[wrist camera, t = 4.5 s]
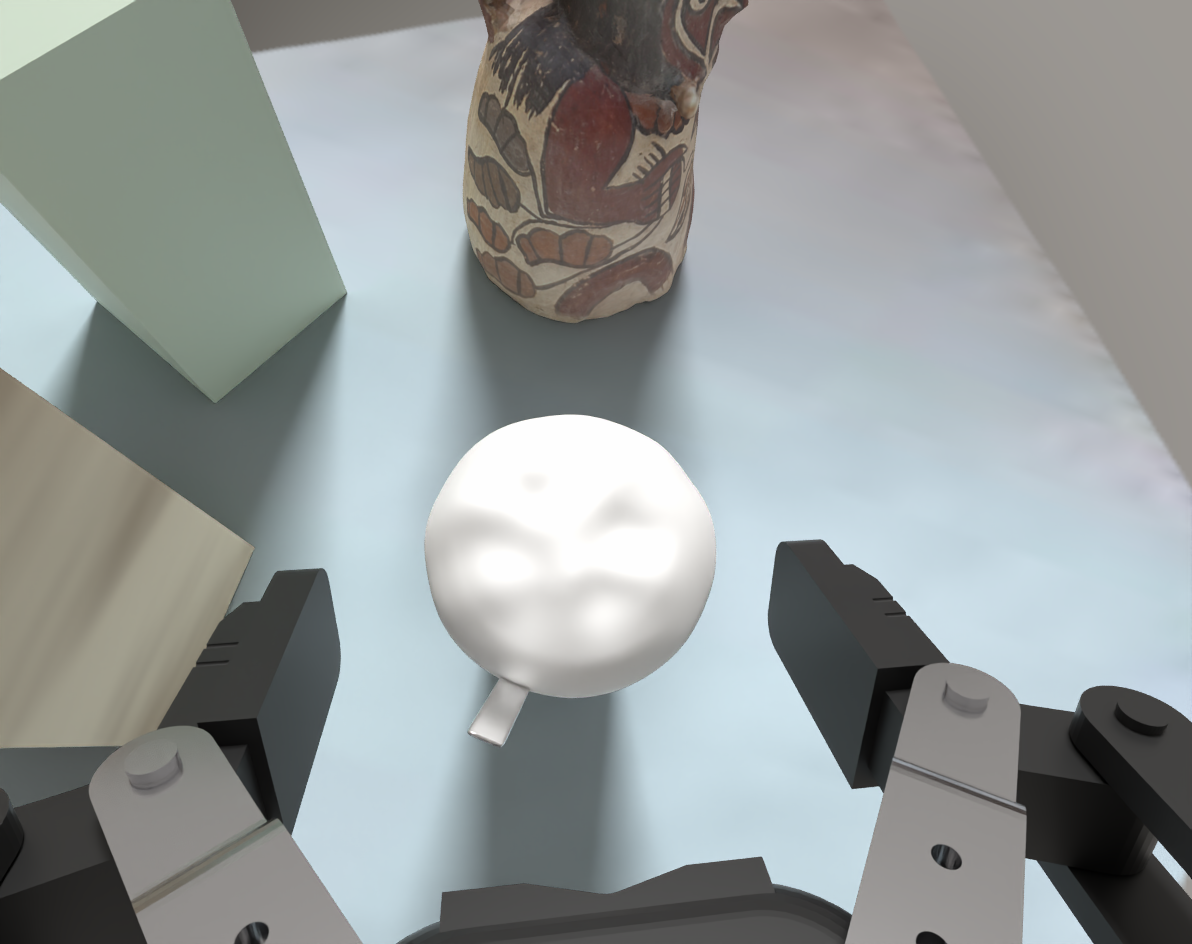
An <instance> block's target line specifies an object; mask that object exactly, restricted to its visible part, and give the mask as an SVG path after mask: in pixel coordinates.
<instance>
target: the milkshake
mask: <svg viewBox="0 0 1192 944" xmlns="http://www.w3.org/2000/svg"><path fill="white" fill-rule="evenodd" d="M425 561H426V568H427V574H428V580H429V585H430V589H431V593H432V597H433V601H434V604H435V607H436V610H437V612H438V615H439V617H440V619H441V621H442V623H443V625H444V627H445V629H446V630H447V632H448V633H449V635H450V636H451V638H452V639H453V640H454V642H455V643H456V644H457V645H458V646H459V647H460V649H461V650H462V651H463V652H464V653H465V654H466V655H467V656H468V657H470V658H471V659H472V660H473V661H474V662H475V663H477V664H478V665H479V666H481V667H482V668H483V669H485V670H486V671H488V672H489V673H491V674H492V675H494V676H496V677H497V678H499V680H498V681H497V683H496V685H495V686H494V688H493V689H492V691H491V693H490V694H489V696H488V697H487V699H486V701H485V702H484V704H483V705H482V707H481V709H480V710H479V712H478V713H477V715H476V717H475V718H474V720H473V722H472V723H471V725H470V727H469V728H468V734H469V735H470V736H472V737H474V738H477V739H479V740H481V741H484V742H486V743H488V744H491V745H493V746H496V747H502V746H503V745H504V744H505V742H506V740H507V738H508V736H509V734H510V732H511V729H512V727H513V725H514V723H515V721H516V719H517V717H518V714H519V712H520V710H521V708H522V706H523V704H524V702H525V699H526V697H527V695H528V693H529V691H530V692H534V693H538V694H542V695H547V696H554V697H562V698H585V697H593V696H599V695H603V694H607V693H611V692H614V691H617V690H620V689H622V688H625V687H627V686H630V685H632V684H634V683H636V682H638V681H640V680H641V679H643V678H645V677H647V676H648V675H650V674H651V673H653V672H654V671H656V670H657V669H658V668H660V667H661V666H662V665H664V664H665V663H666V662H667V661H668V660H669V659H670V658H672V657H673V656H674V655H675V654H676V653H677V652H678V650H679V649H680V648H681V647H682V646H683V645H684V643H685V642H686V641H687V639H688V638H689V636H690V635H691V633H692V631H693V630H694V628H695V626H696V624H697V622H698V620H699V618H700V616H701V614H702V611H703V609H704V607H705V604H706V602H707V599H708V596H709V593H710V590H711V587H712V583H713V578H714V573H715V564H716V539H715V531H714V526H713V521H712V518H711V515H710V512H709V509H708V507H707V505H706V503H705V501H704V499H703V498H702V496H701V495H700V493H699V491H698V490H697V489H696V487H695V486H694V484H693V483H692V482H691V480H690V479H689V478H688V476H687V475H686V473H685V472H684V471H683V469H682V468H681V467H680V465H679V464H678V463H677V462H676V460H675V459H674V458H673V457H672V456H671V454H670V453H669V452H668V451H667V450H666V449H665V448H663V447H662V446H661V445H660V444H658V443H657V442H655V441H654V440H652V439H650V438H649V437H647V436H645V435H643V434H641V433H639V432H637V431H635V430H632V429H630V428H628V427H625V426H623V425H620V424H617V423H615V422H612V421H608V420H605V419H601V418H597V417H592V416H585V415H555V416H546V417H540V418H534V419H528V420H524V421H520V422H516V423H513V424H510V425H507V426H505V427H502V428H500V429H498V430H496V431H494V432H492V433H491V434H489V435H488V436H486V437H485V438H483V439H482V440H481V441H479V442H478V443H477V444H476V445H474V446H473V447H472V448H471V449H470V450H469V451H468V452H467V453H466V454H465V455H464V456H463V458H462V459H461V460H460V461H459V463H458V464H457V465H456V467H455V468H454V470H453V471H452V473H451V474H450V476H449V477H448V479H447V481H446V482H445V484H444V486H443V488H442V490H441V491H440V493H439V495H438V497H437V499H436V501H435V503H434V505H433V508H432V510H431V513H430V515H429V518H428V522H427V526H426V532H425Z"/></svg>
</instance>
